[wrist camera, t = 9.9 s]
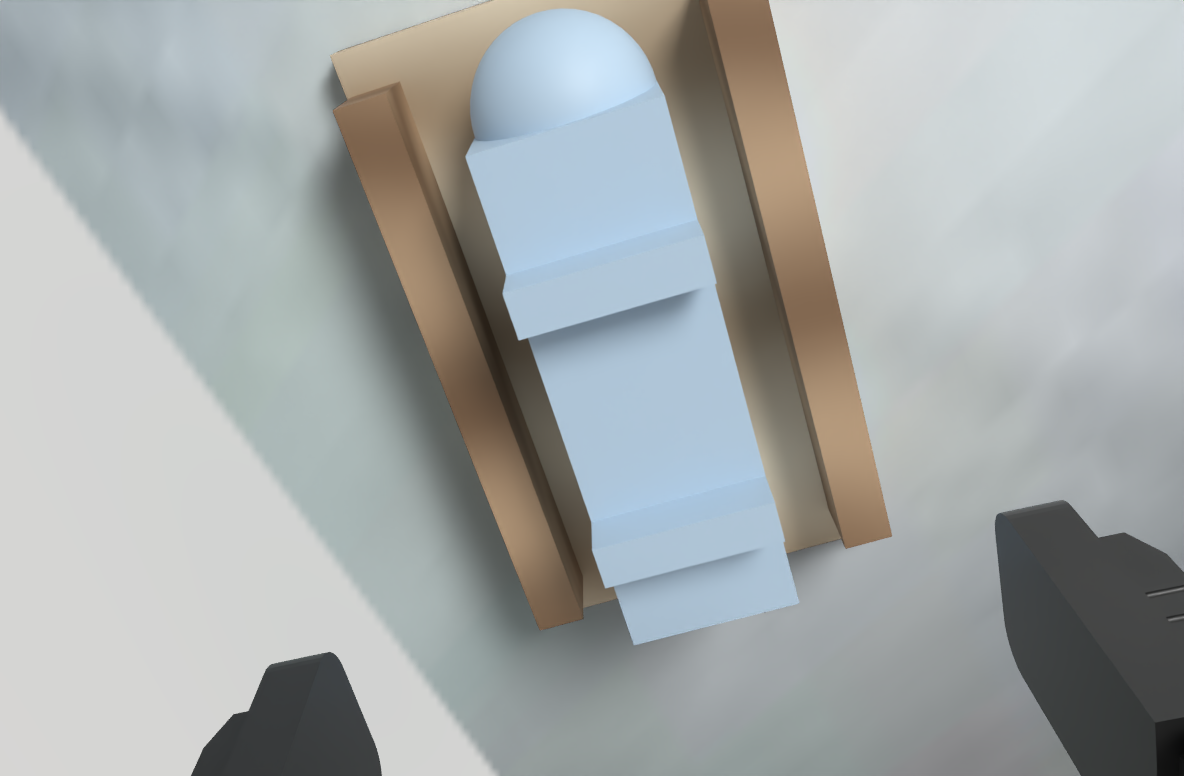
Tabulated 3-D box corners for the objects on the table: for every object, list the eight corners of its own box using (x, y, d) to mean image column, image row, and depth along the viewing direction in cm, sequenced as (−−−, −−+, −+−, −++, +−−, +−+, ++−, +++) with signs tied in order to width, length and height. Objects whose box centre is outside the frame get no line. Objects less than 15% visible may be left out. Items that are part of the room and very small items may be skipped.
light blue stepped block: (454, 32, 24) (421, 60, 19) (625, -22, 24) (639, -10, 18) (625, 544, 29) (636, 677, 24) (767, 507, 29) (809, 634, 24)
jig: (338, 50, 25) (309, 65, 22) (733, -81, 24) (754, -84, 21) (550, 596, 31) (548, 661, 28) (873, 509, 30) (903, 567, 27)
